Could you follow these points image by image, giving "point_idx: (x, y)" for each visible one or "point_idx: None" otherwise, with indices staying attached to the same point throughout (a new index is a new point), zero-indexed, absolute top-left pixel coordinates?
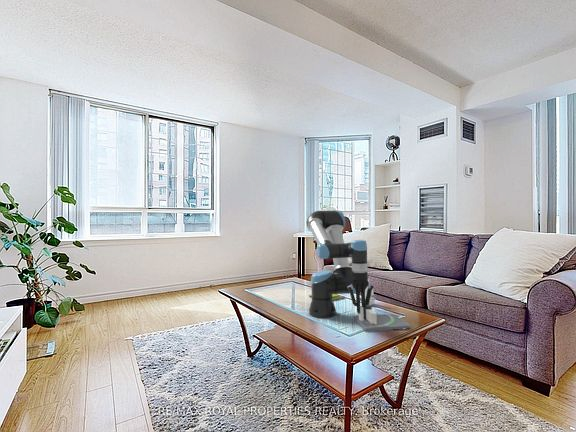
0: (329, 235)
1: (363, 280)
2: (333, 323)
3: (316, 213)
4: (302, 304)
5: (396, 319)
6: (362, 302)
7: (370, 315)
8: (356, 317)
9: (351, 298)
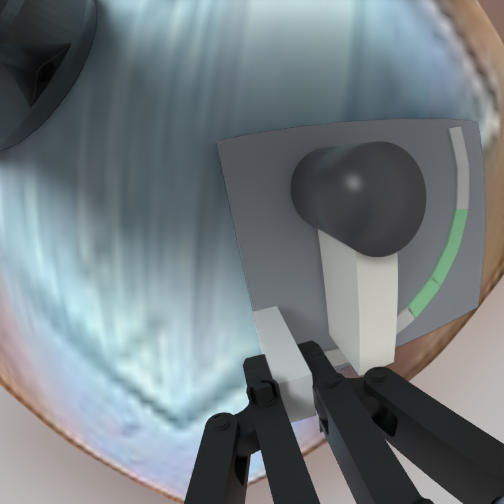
0: None
1: None
2: (67, 257)
3: None
4: None
5: (471, 221)
6: (329, 437)
7: (350, 342)
8: (242, 175)
9: (192, 488)
